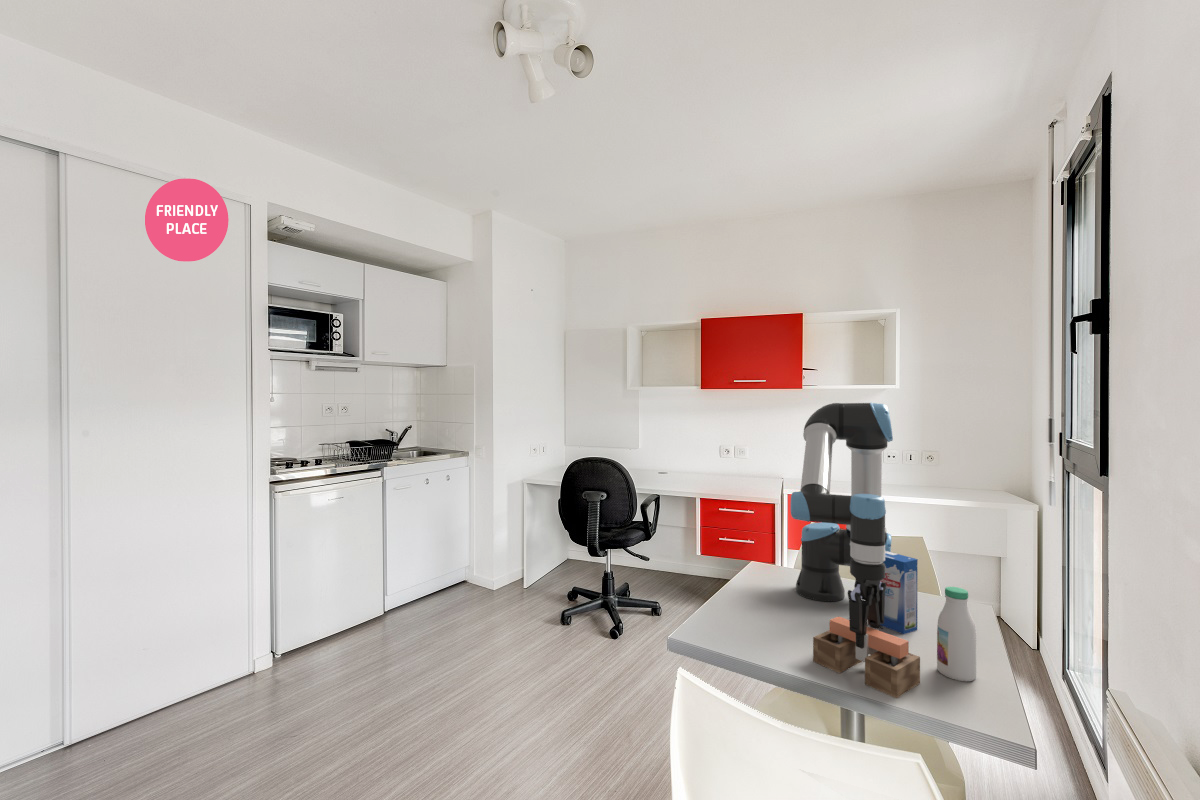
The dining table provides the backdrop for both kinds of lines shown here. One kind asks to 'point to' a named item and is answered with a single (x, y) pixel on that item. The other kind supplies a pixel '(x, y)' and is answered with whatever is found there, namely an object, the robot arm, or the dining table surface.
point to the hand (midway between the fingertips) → (867, 657)
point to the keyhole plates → (868, 664)
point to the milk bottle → (956, 637)
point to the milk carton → (900, 593)
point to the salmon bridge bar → (872, 639)
